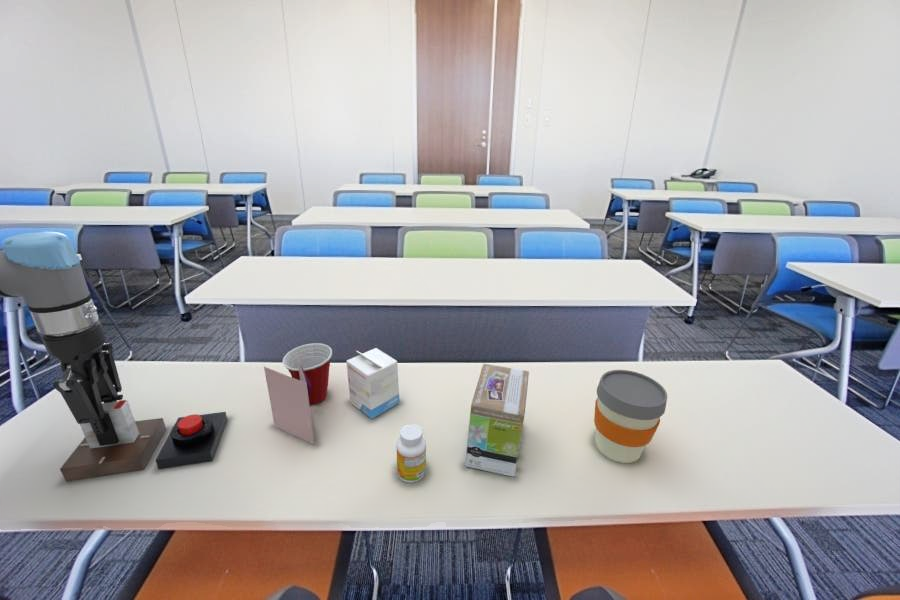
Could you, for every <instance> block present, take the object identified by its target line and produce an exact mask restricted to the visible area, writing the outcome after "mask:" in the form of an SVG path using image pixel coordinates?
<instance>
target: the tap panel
mask: <svg viewBox="0 0 900 600" xmlns="http://www.w3.org/2000/svg"><path fill="white" fill-rule="evenodd" d="M135 423H136V426H137V428H138V431H139V435H138V437H137V438H136V440H135V441H134V443H127V444H119V445H112V446H105V447H98V448H90V447H89V445H88V442H87V440H86V438H85V437H84V438H83V439H82V441H81V442H79V444H78V446H77V447H76V448H75V449H74V451H73V452H72V453H71V454H70V456H69V457H68V458H67V459H66V460H65V462H64V463H63V464H62V466H60V468H59V470H60V472H61V474H62V477H63V478H64V481H65V482H71V481H78V480H84V479H91V478H97V477H105V476H110V475H111V476H112V475H118V474H123V473H130V472H138V471H143V470H145V468H146V467H147V465H148V463H149V461H150V460H151V458H152V456H153V454H154V452H155V451H156V449H157V447H158V445H159V444H160V441H161V439H162V438H163V436H164V434H165V432H166V431H167V427H166V424H165V420H164V418H163V417H158V418H150V419H142V420H135Z"/></svg>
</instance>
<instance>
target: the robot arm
mask: <svg viewBox="0 0 900 600" xmlns="http://www.w3.org/2000/svg"><path fill="white" fill-rule="evenodd" d="M1 247H2V248H1ZM1 247H0V298H18V297H23V300H24V301H25V302H24V303H25V304H26V306H27V308H28V311H29V313H30V316H31V319H32V320H33V323H34V325H35V329H36V331H37V333H39V334H41V336H40V339H41V341H42V343H43V346H44V348H45V351H46V353H47V354H48V356H50V357H53V358H55V359H58V360H59V361H60V371H61V373H63V374H62V377H61V379H60V380H54V381H53V383H52V387H53V388H54V390H56V391H57V392H59V393H60V395H61V396H62V398H63V400H64V401H65V404H66V405H67V407H68V409H69V411H70V412H71V414H72V416H73V418H74V419H75V422H76V423H77V424H78V425H80V424H84V423H90V424H91V427H92V429H93V432H94V434H95V435H96V437H97V440H98V442H99V445H100V446H104V445H111V444H117V443H118V442H119V439H118V436H117V434H116V431H115V429H114V426H113V424H112V421H111V418H110V416H109V413H104V410H103V406H102V403H110V402H118V401H121V400H124V395H123V394H124V393H123V394H118V393H121V392H122V389H123V388H122V387H123V386H122V383H121V380H120V376H119V372H118V368H117V366H116V361H115V357H114V351H113V343H111V342H107V336H106V332H105V330H104V327H103V325H102V322H100V320H99V315H98V307H97V306H95V303H94V300H93V298H92V295H91V292H90V290H89V287H88V284H87V281H86V279H85V276H84V272H83V268H82V265H81V259H80V257H79V255H78V254H77V252H76V250H75V248H74V245H73V243H72V241H71V238H70V237H69V236H67V235H66V234H64V233H61V232H58V231H57V232H56V231H39V232H26V233H20V234H16V235H12V236H9V237H6V238H4V239H3V240H2V242H1Z"/></svg>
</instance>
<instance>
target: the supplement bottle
mask: <svg viewBox="0 0 900 600" xmlns="http://www.w3.org/2000/svg"><path fill="white" fill-rule="evenodd" d="M423 435H424V434H423V429H422V427H421V426H419V425H417V424H413V423H412V424H411V423H410V424H407V425H404V426H403V427H402V428H401V429H400V432H399V437H398V439H397V441H396V446H395V447H396V473H397V476H398V478H399V479H400V480H401V481H403V482H405V483H416V482H418V481H420V480H422V479H423V478H424V477H425V475H426V471H427V442H426V439H425V438H424V437H425V436H423Z"/></svg>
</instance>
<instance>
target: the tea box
mask: <svg viewBox="0 0 900 600" xmlns="http://www.w3.org/2000/svg"><path fill="white" fill-rule="evenodd" d="M529 374H530V371H529V370H524V369H518V368H511V367H507V366H506V367H505V366H501V365H500V366H499V365H495V364H488V363H483V364H482V367H481V370H480V374H479V377H478V381H477V383H476V387H475V390H474V394H473V396H472V401H471V405H470V413H469V423H468V431H467V433H468V434H467V443H466V454H465V463H464V465H465V467H468V468H473V469H476V470H480V471H486V472H490V473H493V474H499V475H504V476H508V477H513V478H514V477H515V476H516V472H517V466H518V460H519V454H520V449H521V441H522V434H523V430H524V429H523V428H524V421H525V414H526V405H527V396H528V385H529V376H530V375H529Z"/></svg>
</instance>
